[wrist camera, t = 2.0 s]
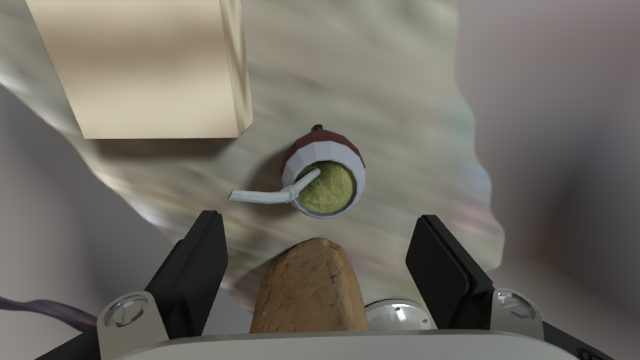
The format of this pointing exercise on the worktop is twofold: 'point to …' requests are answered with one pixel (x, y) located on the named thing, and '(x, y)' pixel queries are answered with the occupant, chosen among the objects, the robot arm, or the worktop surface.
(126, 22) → the maple block
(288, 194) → the mate gourd
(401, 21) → the worktop surface
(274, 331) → the block
